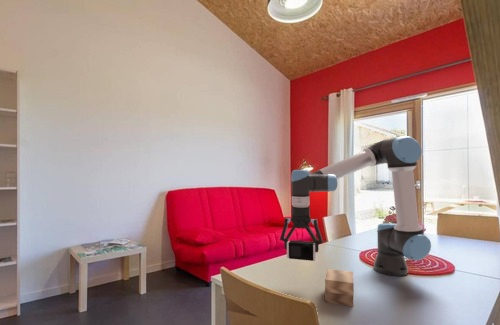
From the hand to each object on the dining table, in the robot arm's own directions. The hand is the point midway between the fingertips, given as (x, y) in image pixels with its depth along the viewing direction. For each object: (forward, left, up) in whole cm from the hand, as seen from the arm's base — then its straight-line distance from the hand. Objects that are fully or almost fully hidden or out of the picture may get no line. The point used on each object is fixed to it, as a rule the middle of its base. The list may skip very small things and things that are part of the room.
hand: (301, 258), depth 121 cm
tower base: (-16, +4, -13) cm, 21 cm away
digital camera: (0, 0, 0) cm, 1 cm away
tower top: (-16, +4, -8) cm, 18 cm away
